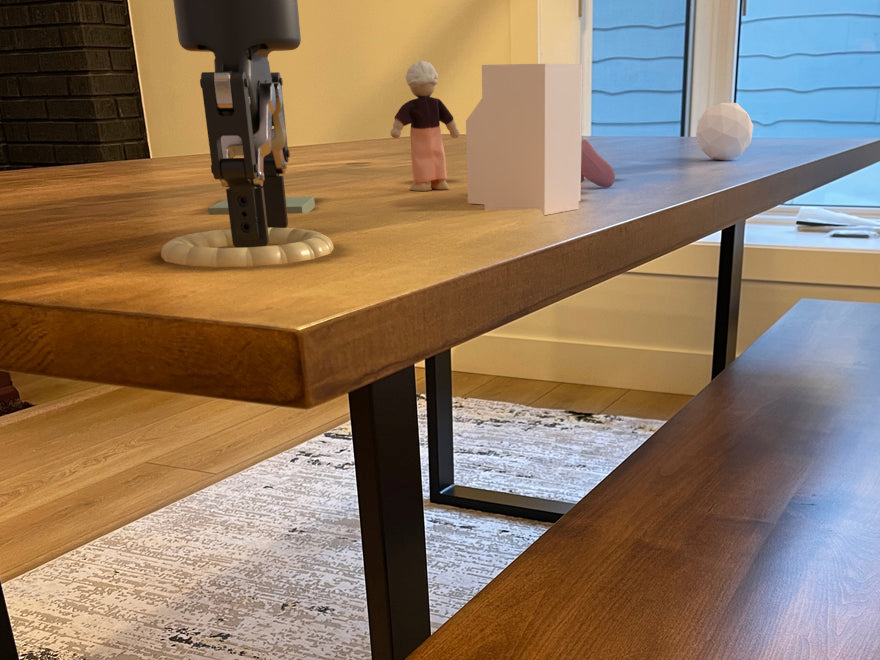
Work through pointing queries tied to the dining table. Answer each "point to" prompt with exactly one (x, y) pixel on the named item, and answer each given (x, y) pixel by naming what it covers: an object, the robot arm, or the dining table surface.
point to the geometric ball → (724, 131)
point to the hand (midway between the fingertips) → (262, 238)
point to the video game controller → (595, 166)
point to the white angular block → (526, 138)
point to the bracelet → (204, 252)
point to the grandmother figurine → (425, 128)
